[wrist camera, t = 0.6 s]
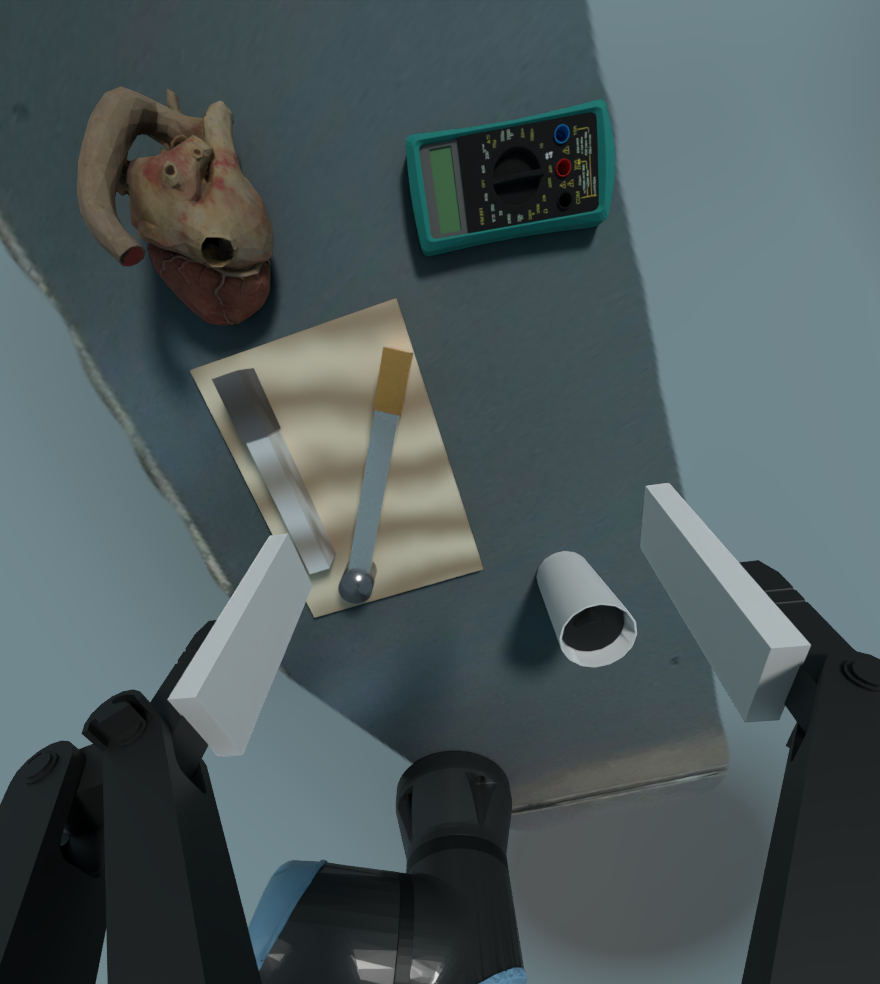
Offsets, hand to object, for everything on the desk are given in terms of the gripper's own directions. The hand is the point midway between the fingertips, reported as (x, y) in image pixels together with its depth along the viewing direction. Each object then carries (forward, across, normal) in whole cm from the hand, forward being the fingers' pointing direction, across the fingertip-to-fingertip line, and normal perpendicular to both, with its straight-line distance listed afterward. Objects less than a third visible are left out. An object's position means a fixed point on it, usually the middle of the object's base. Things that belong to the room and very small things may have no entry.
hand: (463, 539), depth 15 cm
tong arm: (+22, +9, +8) cm, 25 cm away
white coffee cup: (+22, -8, +23) cm, 33 cm away
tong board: (+23, +12, +8) cm, 27 cm away
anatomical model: (+27, +16, -14) cm, 35 cm away
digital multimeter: (+29, -6, -12) cm, 32 cm away
